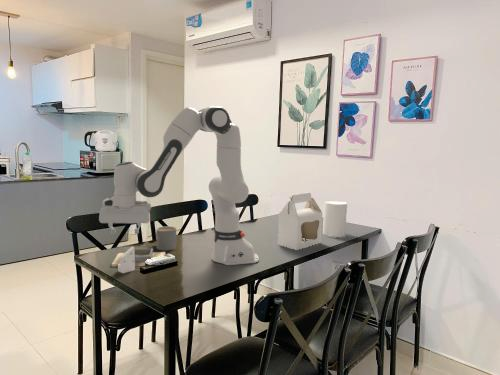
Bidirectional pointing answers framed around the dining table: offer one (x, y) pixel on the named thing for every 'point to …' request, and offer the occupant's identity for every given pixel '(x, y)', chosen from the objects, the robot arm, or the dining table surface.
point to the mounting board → (155, 254)
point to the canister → (334, 218)
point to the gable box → (300, 223)
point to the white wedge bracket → (127, 261)
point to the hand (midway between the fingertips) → (125, 233)
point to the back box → (143, 251)
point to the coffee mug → (166, 238)
